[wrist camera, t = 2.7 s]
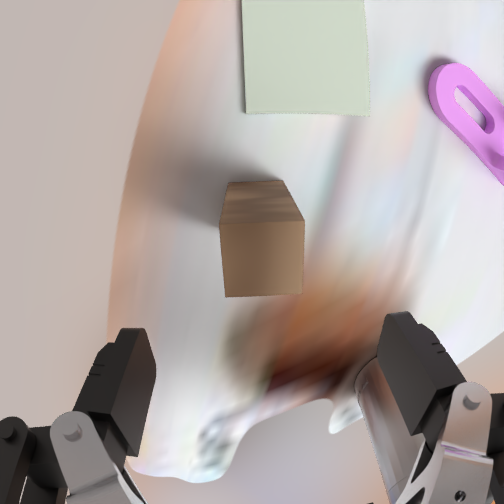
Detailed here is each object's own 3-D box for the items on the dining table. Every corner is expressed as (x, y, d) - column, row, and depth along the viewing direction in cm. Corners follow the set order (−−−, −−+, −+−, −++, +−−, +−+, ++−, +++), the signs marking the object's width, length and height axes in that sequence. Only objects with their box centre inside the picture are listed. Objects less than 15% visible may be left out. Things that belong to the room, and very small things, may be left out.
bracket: (522, 141, 21) (570, 156, 15) (502, 185, 23) (549, 208, 17) (441, 51, 18) (495, 43, 12) (417, 100, 20) (469, 102, 14)
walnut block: (283, 180, 23) (304, 220, 15) (283, 231, 25) (302, 293, 16) (228, 182, 23) (218, 224, 15) (231, 233, 25) (225, 297, 16)
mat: (361, -3, 17) (363, -5, 16) (367, 116, 21) (370, 116, 20) (241, -11, 17) (241, -13, 16) (246, 114, 21) (246, 114, 20)
